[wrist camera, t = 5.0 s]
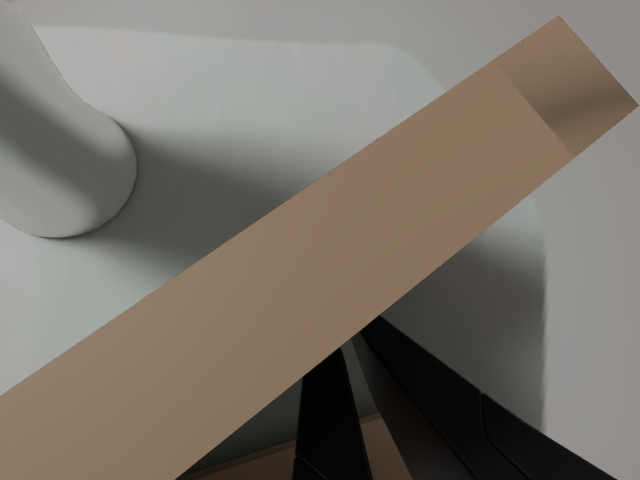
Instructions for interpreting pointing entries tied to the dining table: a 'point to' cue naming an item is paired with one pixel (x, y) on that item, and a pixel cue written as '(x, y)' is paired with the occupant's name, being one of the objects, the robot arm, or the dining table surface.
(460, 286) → the dining table surface
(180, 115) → the dining table surface
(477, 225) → the board
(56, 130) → the beer glass
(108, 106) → the dining table surface
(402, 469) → the gate frame
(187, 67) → the dining table surface
